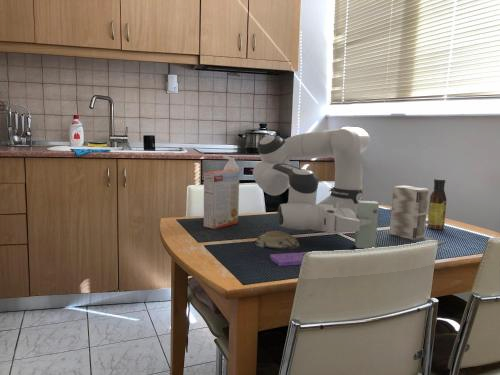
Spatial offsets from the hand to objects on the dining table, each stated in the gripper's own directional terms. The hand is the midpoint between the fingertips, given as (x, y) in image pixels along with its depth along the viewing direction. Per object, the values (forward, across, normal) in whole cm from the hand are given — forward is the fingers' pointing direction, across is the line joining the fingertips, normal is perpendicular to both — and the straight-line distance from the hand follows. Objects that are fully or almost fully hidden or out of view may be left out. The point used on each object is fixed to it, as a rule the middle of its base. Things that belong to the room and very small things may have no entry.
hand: (369, 220), depth 140 cm
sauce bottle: (+33, -34, -9) cm, 48 cm away
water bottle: (-51, -35, -9) cm, 62 cm away
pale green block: (-1, 0, -9) cm, 9 cm away
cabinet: (+20, -15, -9) cm, 26 cm away
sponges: (-24, +20, -10) cm, 33 cm away
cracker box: (-52, -18, -9) cm, 56 cm away
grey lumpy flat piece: (-30, +2, -10) cm, 32 cm away
